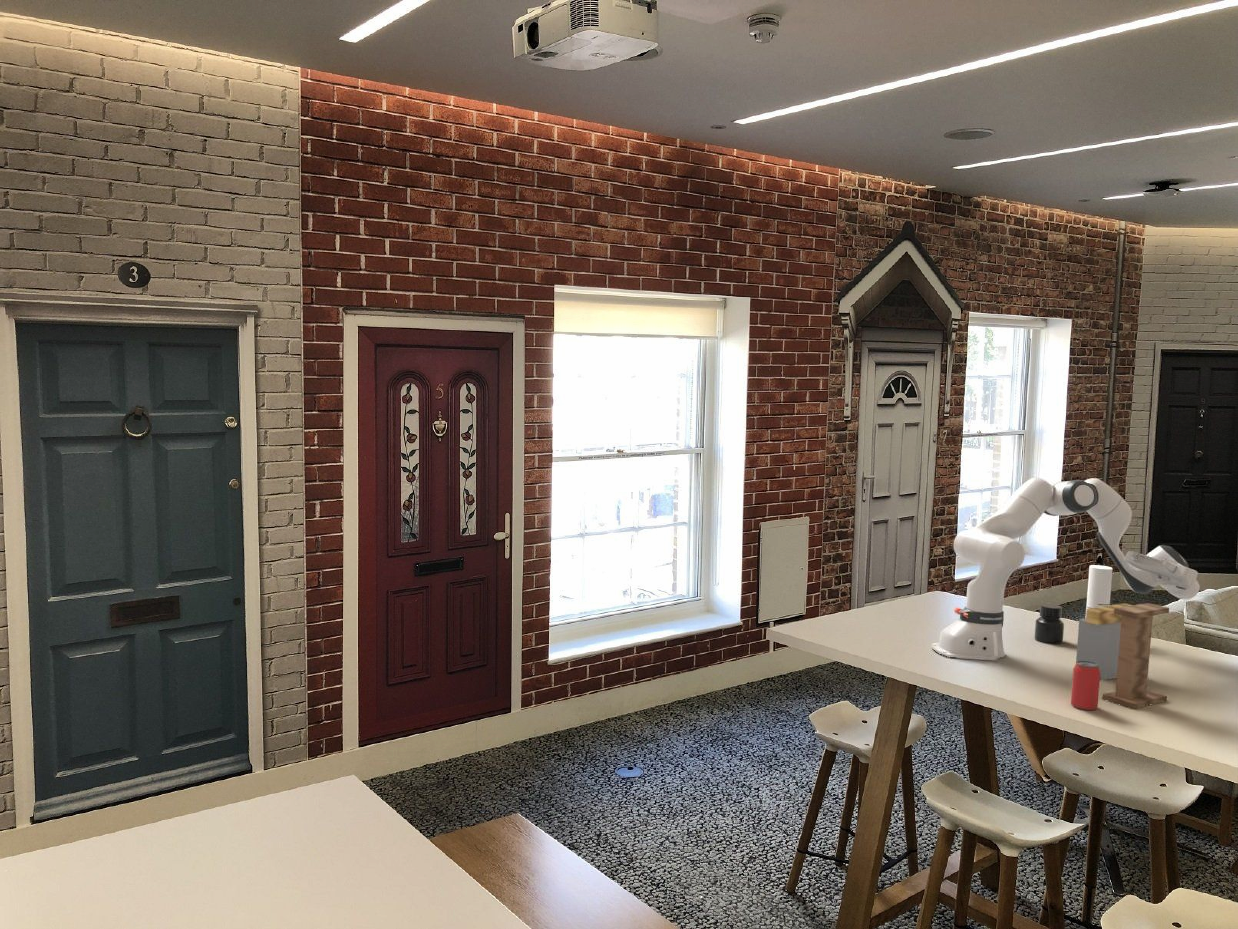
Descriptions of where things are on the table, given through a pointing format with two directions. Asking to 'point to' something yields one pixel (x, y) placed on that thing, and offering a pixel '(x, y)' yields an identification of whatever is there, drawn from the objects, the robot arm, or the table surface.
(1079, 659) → the ledge block
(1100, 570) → the cylindrical container
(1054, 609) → the ink bottle
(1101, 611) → the bar
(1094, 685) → the beer can
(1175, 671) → the table surface
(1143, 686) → the stand
